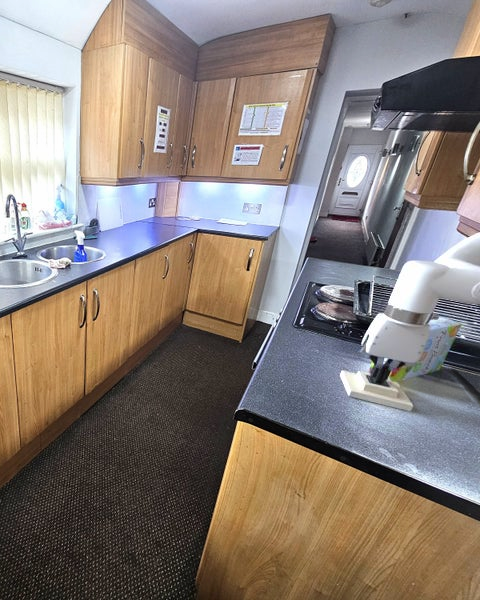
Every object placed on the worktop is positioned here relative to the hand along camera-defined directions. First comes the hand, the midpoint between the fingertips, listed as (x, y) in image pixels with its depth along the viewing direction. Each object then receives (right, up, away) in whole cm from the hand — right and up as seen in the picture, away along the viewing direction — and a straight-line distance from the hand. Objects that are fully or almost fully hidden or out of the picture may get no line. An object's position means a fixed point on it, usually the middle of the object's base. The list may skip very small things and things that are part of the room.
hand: (376, 380), depth 82 cm
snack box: (+16, 0, +9) cm, 18 cm away
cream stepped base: (0, -3, +1) cm, 4 cm away
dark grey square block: (0, -2, +1) cm, 2 cm away
